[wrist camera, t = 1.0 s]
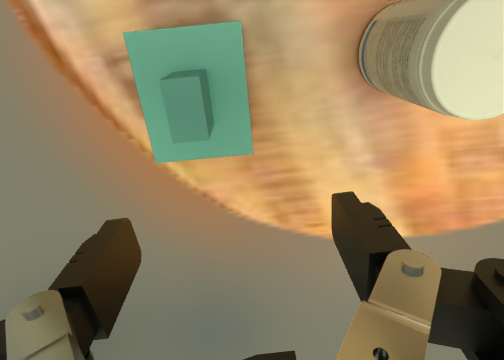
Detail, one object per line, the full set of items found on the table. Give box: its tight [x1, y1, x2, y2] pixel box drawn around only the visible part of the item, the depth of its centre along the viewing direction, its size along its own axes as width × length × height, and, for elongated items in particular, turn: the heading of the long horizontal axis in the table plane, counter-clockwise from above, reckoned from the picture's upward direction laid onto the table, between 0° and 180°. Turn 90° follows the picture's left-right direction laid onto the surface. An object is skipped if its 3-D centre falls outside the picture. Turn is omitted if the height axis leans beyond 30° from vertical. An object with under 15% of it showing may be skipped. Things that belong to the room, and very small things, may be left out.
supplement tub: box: [359, 0, 504, 120], centre depth 27 cm, size 10×10×15 cm
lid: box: [123, 21, 253, 163], centre depth 27 cm, size 12×10×7 cm
